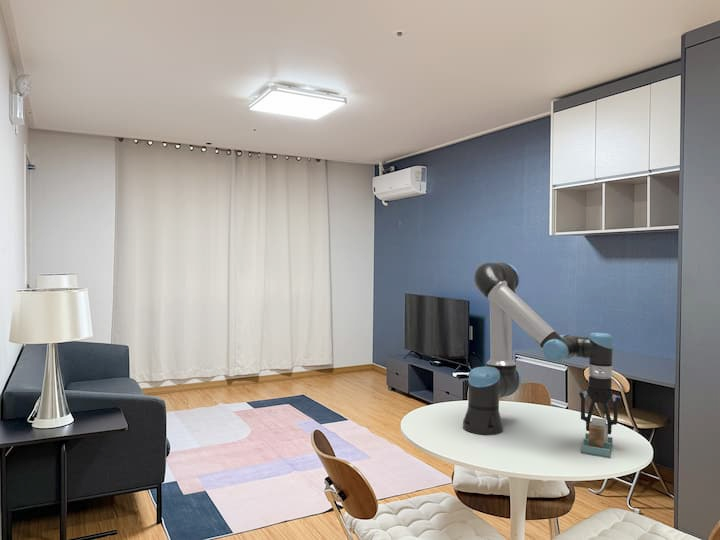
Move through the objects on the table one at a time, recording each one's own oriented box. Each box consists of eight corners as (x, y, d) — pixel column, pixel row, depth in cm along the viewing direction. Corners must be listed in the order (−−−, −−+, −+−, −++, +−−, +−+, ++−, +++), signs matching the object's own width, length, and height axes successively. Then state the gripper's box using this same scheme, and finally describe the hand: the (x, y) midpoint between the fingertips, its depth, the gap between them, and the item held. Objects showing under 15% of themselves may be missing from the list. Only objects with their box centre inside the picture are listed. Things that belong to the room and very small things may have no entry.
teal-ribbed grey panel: (580, 453, 188) (581, 445, 188) (585, 440, 202) (585, 433, 202) (609, 458, 183) (609, 450, 183) (612, 444, 198) (612, 437, 197)
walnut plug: (588, 450, 188) (589, 427, 188) (589, 447, 192) (590, 424, 192) (602, 453, 186) (603, 429, 186) (603, 449, 190) (604, 426, 190)
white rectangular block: (590, 442, 195) (591, 420, 195) (592, 439, 199) (592, 417, 199) (604, 445, 193) (605, 422, 193) (605, 441, 197) (606, 419, 197)
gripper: (572, 375, 196) (570, 440, 197) (627, 381, 188) (625, 449, 188) (575, 372, 203) (573, 434, 203) (627, 377, 195) (625, 442, 195)
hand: (598, 441), depth 196 cm, fingers closed on white rectangular block, 4 cm apart
